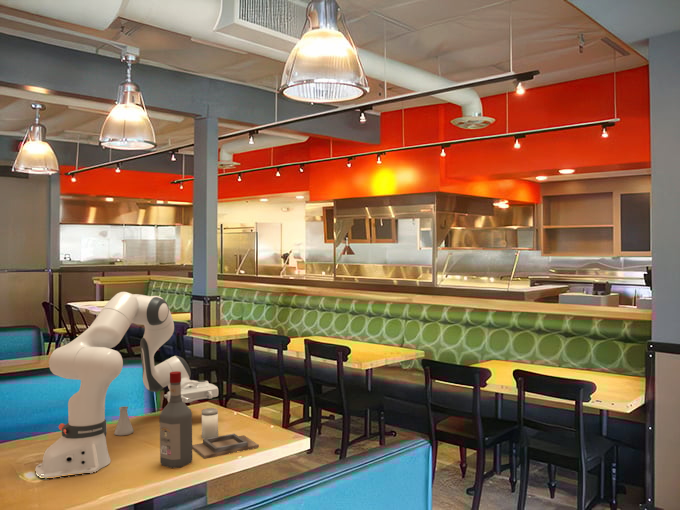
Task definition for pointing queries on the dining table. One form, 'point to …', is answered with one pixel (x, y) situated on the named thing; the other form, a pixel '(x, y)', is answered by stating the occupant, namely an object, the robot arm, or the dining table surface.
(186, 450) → the liquor
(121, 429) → the flask
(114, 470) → the dining table surface
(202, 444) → the locating board
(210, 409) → the spice jar
